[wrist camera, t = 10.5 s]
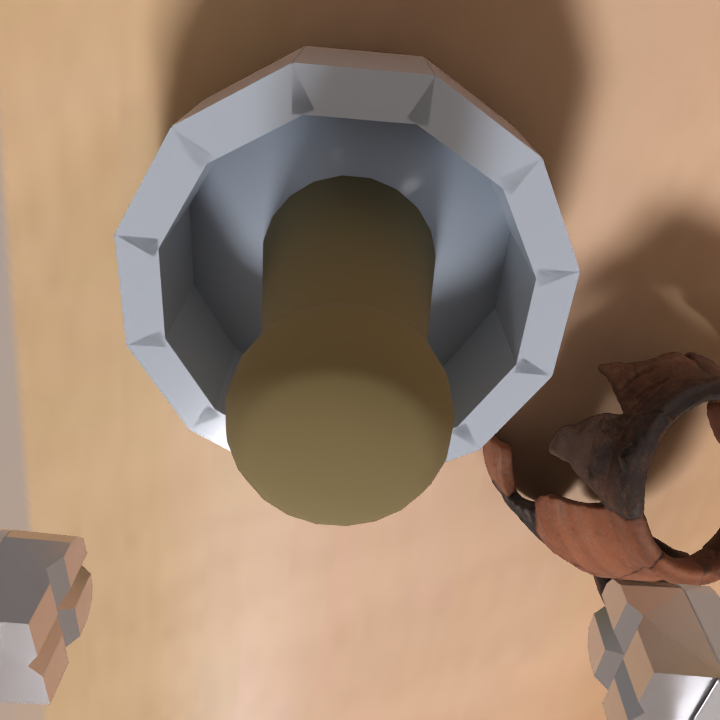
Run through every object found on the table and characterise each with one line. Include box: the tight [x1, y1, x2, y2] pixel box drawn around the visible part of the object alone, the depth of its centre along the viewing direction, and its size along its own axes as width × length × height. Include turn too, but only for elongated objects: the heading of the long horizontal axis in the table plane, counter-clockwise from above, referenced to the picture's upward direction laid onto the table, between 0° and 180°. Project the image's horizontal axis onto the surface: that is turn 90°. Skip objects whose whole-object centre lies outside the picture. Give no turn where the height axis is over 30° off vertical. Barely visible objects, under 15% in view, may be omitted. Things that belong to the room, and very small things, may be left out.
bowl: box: [114, 46, 580, 462], centre depth 22 cm, size 13×13×5 cm
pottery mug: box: [483, 352, 720, 604], centre depth 26 cm, size 12×10×8 cm
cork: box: [225, 175, 455, 526], centre depth 19 cm, size 6×6×11 cm
